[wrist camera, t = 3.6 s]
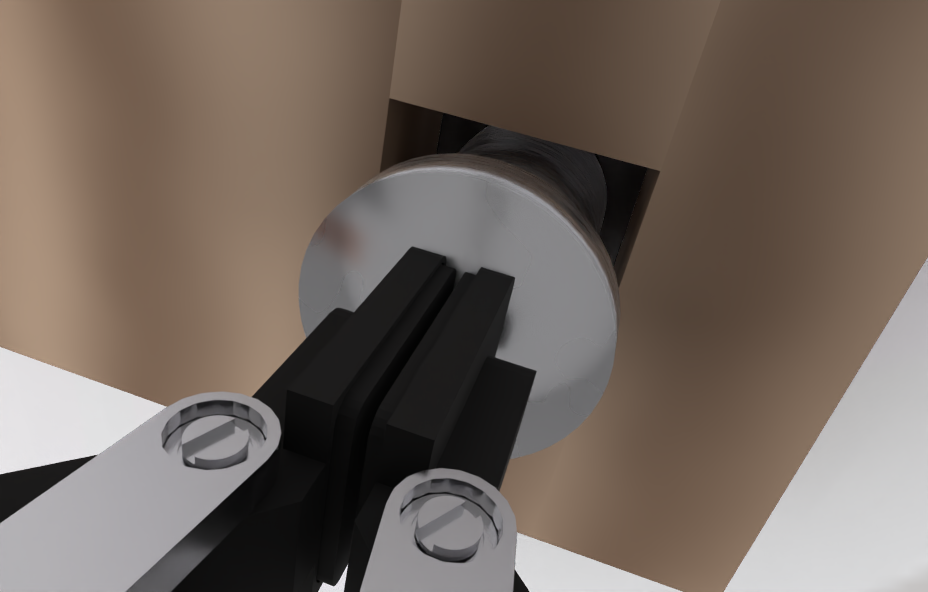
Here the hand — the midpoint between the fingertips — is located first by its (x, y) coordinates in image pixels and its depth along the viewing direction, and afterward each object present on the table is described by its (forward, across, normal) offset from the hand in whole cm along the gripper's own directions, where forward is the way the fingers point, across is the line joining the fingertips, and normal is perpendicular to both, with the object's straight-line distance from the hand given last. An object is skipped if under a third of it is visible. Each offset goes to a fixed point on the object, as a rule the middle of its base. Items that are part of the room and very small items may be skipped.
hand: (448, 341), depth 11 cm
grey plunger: (+7, 0, 0) cm, 7 cm away
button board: (+7, +8, 0) cm, 11 cm away
